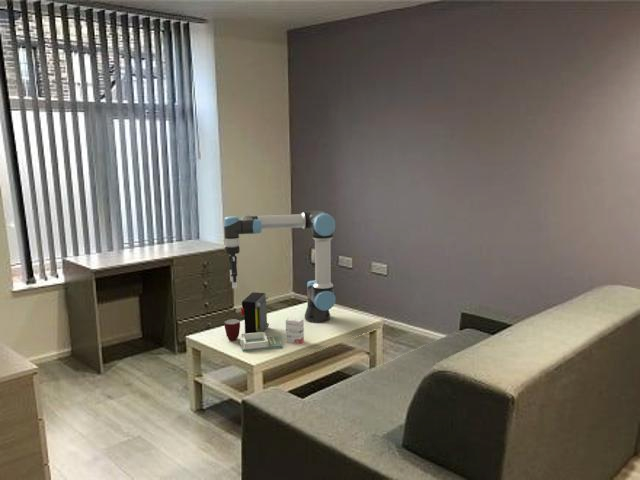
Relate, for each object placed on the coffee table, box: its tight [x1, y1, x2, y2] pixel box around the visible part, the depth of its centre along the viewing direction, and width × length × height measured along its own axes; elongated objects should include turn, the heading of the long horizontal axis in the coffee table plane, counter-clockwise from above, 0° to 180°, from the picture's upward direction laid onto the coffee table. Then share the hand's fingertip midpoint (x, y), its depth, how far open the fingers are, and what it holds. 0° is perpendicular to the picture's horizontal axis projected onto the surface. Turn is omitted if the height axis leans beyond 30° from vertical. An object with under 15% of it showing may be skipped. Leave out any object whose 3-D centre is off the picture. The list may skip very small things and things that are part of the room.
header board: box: [239, 331, 283, 353], centre depth 274 cm, size 20×14×4 cm
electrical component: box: [240, 291, 270, 334], centre depth 290 cm, size 18×10×20 cm, turn 168°
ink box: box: [285, 317, 305, 345], centre depth 277 cm, size 9×5×12 cm, turn 71°
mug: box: [224, 318, 241, 342], centre depth 281 cm, size 11×8×10 cm
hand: (233, 284), depth 284 cm, fingers open, 13 cm apart
